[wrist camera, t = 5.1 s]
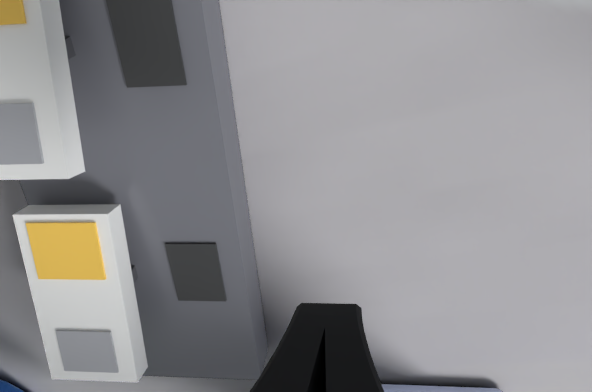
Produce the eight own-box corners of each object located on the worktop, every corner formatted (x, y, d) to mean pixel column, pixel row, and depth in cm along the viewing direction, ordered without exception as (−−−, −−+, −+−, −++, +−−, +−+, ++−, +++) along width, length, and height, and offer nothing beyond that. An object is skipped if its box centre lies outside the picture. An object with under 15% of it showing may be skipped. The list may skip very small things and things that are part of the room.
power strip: (268, 346, 26) (257, 394, 23) (109, 342, 27) (84, 387, 24) (191, -193, 15) (158, -207, 13) (-63, -164, 16) (-136, -171, 14)
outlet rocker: (85, 171, 17) (66, 179, 16) (-18, 173, 18) (-42, 181, 17) (48, -69, 15) (24, -77, 14) (-66, -59, 16) (-97, -66, 15)
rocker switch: (147, 366, 22) (136, 384, 21) (65, 363, 22) (50, 380, 21) (120, 204, 20) (106, 214, 19) (28, 205, 20) (10, 215, 19)
